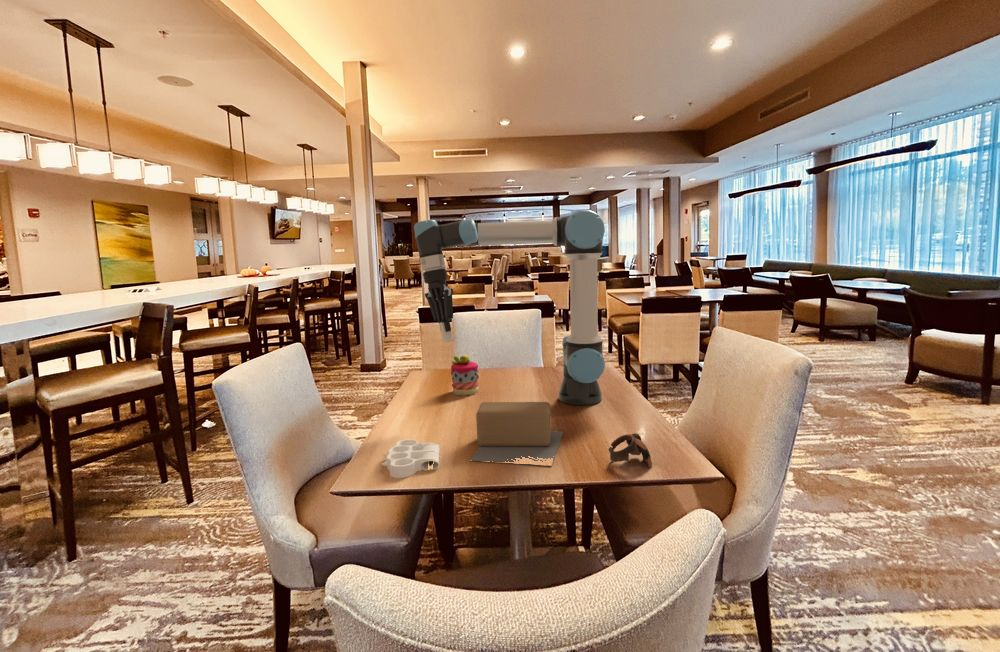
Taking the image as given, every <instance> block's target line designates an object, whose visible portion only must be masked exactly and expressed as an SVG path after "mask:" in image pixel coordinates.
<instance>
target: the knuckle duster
mask: <svg viewBox="0 0 1000 652" xmlns="http://www.w3.org/2000/svg"><path fill="white" fill-rule="evenodd" d="M440 448H441V447H440V445H439V444H437V443H436V442H419V441H418V440H417V439H403V440H402V439H401V440H399V441H397V442H395V445H394V446H392V447H390V448H389V449H388V451H387V453H385V454H383V456H384V457H385V458H386V460H385V461H384V462H382V463H380V465H381V466H383V467H386V468H387V470H388V471H389V475H391V476H392V478H394V477H395V479H405V477H406V478H409V476H410V477H411V475H412V476H414V475H415V474H416V473H418V472H422V471H421V470H424V471H427V470H428V461H430V462H432V461H434V464H433V470H432V471H434V470H437V468H439V467H440V452H441V449H440ZM417 471H418V472H417ZM413 474H414V475H413ZM391 476H390V477H391Z"/></svg>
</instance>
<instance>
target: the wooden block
mask: <svg viewBox="0 0 1000 652" xmlns="http://www.w3.org/2000/svg"><path fill="white" fill-rule="evenodd" d="M475 416H476V417H475V418H476V439H477V440H476V441H477V444H478V445H479V447H480V446H549V445H550V438H551V431H552V430H551V429H552V428H551V404H550V402H548V401H483V402H481V403H480V405H479V406H478V409H477V411H476V414H475Z"/></svg>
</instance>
